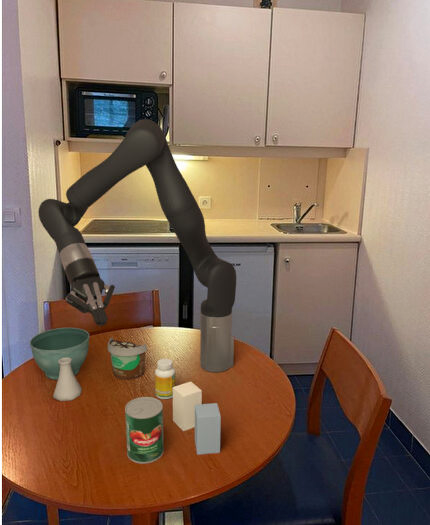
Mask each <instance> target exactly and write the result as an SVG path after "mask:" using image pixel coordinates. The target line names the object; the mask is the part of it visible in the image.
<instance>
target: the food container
mask: <svg viewBox="0 0 430 525" xmlns="http://www.w3.org/2000/svg"><path fill="white" fill-rule="evenodd" d="M106 349H107V351H108V352H109V353H110V358H111V366H112V372H113V376H114V377H115V378H116V379H119V380H123V381H131V380H135V379H138V378H140V377H143V376H144V375H145V363H146V362H145V360H146V352H147V351H148V346H147V343H144V344H142V345H140V344H136V343H134V342H130V341H121V340H115V339H114V338H113V336H112V337H110V338H109V340H108V342H107V348H106Z"/></svg>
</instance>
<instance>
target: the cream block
mask: <svg viewBox="0 0 430 525" xmlns="http://www.w3.org/2000/svg"><path fill="white" fill-rule="evenodd" d="M202 392H203V391H202V389H201V388H199V387H198V386H197V385H196V384H194V383H193V382H192V381H189V382H184V383H182V384H179V385H175V387H173V397H172V421H173V422H174V423H175V424H176V425H177V427H179V428H180V430H182V432H185V431H188V430H191V429H194V428H195V405H198V404H203V403H202V401H203V400H202V398H203V397H202V395H203V393H202Z"/></svg>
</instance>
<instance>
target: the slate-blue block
mask: <svg viewBox="0 0 430 525" xmlns="http://www.w3.org/2000/svg"><path fill="white" fill-rule="evenodd" d="M221 420H222V417H221V413H220V409H219V405H218V403H217V402H215V403H202V404H198V405H195V427H194V444H195V450H196V455H209V454H220V453H221Z"/></svg>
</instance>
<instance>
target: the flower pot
mask: <svg viewBox="0 0 430 525" xmlns="http://www.w3.org/2000/svg"><path fill="white" fill-rule="evenodd" d="M89 343H90V333H89V332H88V331H87V330H85V329H82V328H78V327H58V328H52V329H48V330H45V331H42V332H40V333H37V334H35V335H34V336H33V337H32V338H31V339H30V340H29V346H30V348H31V349H30V350H31V354H32V357H33V359H34V361H35V363H36V365H37V367H38V368H39V370H41V371H42V372H44V375H45V376H46V378H47V379H50V380H57V381H58V378H59V373H60V364H59V363H58V361H59V360H60V359H62V358H71V359H72V360H71V368H72V371H73V374H74V376H75V377H76V375H77V374H78V373H79V372H80V370H81V367H82V365H83V364H84V362H85V361H86V358H87V356H88V352H89V347H90V346H89V345H90V344H89Z"/></svg>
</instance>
